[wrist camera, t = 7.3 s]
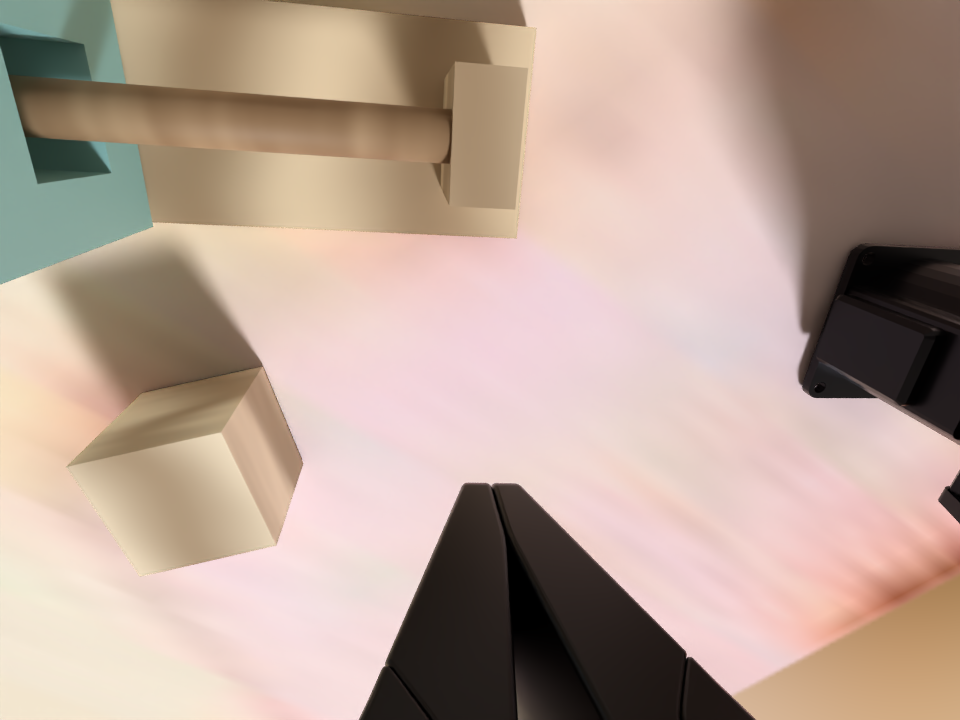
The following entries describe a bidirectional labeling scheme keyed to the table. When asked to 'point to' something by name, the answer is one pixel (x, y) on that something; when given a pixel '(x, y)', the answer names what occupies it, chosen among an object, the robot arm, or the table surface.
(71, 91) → the rail
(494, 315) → the table surface
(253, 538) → the maple cube
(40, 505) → the table surface
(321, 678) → the table surface
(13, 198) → the bead
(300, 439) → the table surface
